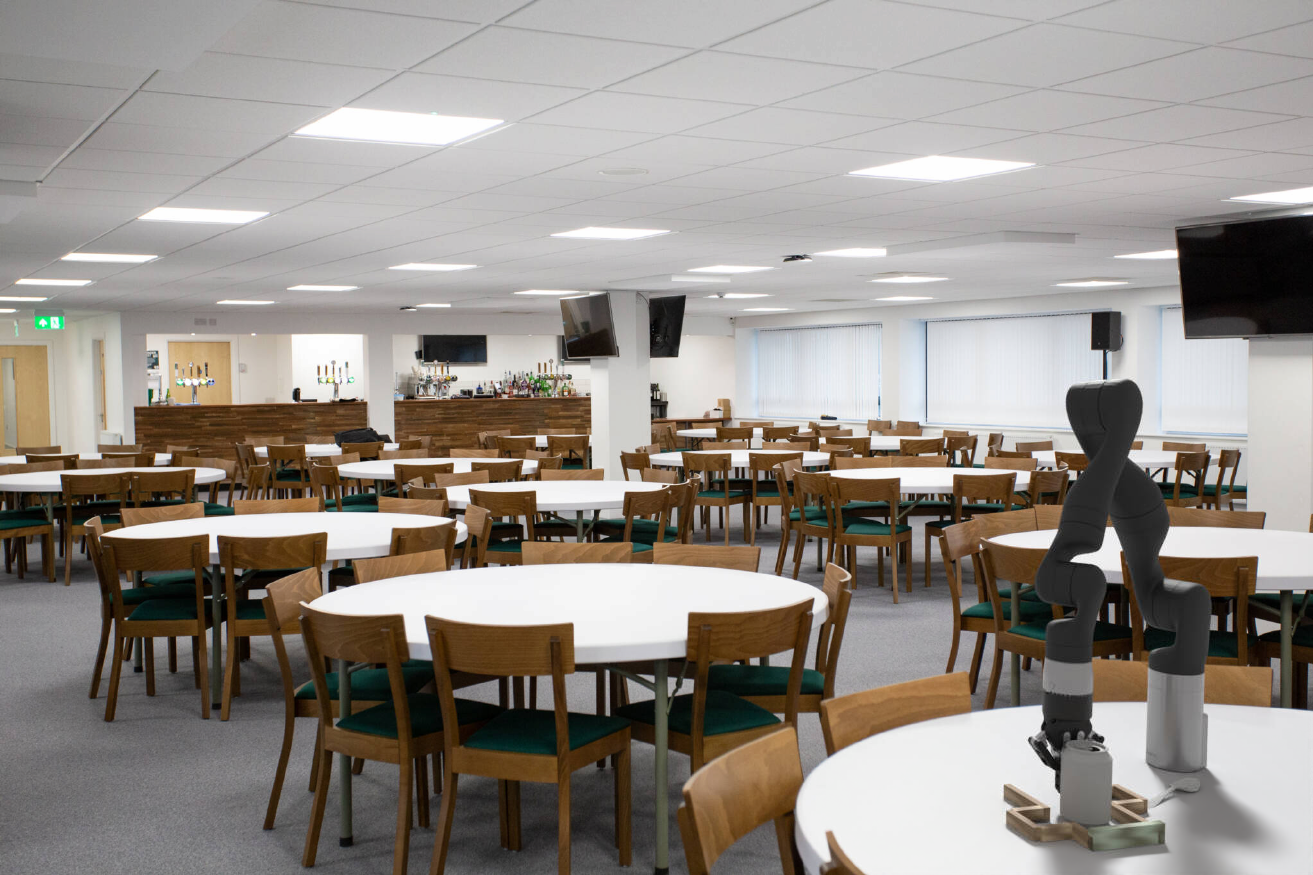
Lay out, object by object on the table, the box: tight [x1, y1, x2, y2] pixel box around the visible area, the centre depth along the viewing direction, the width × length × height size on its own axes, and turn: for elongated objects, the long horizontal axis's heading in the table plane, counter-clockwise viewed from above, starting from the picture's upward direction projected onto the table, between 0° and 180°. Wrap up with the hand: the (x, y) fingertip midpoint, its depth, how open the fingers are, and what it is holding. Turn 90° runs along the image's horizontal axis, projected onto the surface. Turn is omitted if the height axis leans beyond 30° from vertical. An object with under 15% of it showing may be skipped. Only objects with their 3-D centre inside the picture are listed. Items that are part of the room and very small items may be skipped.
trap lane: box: [1003, 783, 1166, 852], centre depth 175 cm, size 25×23×3 cm
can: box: [1059, 740, 1114, 829], centre depth 174 cm, size 8×8×12 cm
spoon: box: [1148, 777, 1201, 810], centre depth 185 cm, size 4×21×2 cm, turn 130°
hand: (1064, 793), depth 178 cm, fingers closed
